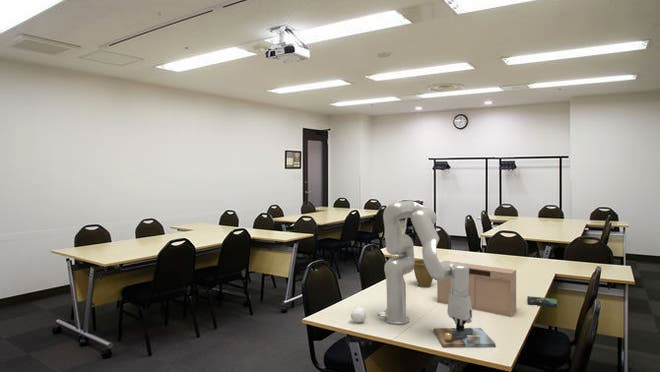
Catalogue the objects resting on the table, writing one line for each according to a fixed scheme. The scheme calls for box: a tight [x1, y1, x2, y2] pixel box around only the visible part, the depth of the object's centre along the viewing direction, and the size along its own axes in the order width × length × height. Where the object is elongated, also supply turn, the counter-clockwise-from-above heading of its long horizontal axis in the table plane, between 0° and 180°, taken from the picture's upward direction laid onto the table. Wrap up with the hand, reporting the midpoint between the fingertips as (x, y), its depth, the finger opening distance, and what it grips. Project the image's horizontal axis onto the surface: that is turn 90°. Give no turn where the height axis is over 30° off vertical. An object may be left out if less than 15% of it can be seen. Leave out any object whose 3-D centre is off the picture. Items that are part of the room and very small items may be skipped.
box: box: [436, 260, 517, 318], centre depth 227 cm, size 10×40×22 cm, turn 50°
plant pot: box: [413, 259, 434, 289], centre depth 271 cm, size 15×15×16 cm
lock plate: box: [432, 327, 496, 348], centre depth 184 cm, size 22×18×4 cm
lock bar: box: [445, 327, 473, 342], centre depth 181 cm, size 14×3×3 cm, turn 116°
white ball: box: [350, 306, 368, 324], centre depth 207 cm, size 8×8×8 cm
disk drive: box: [526, 295, 559, 309], centre depth 232 cm, size 10×3×15 cm
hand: (460, 332), depth 186 cm, fingers closed
